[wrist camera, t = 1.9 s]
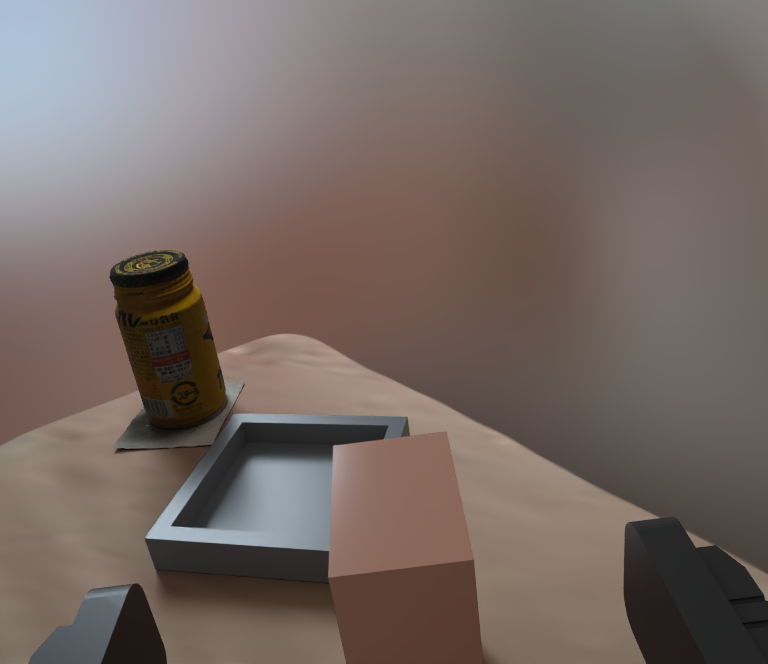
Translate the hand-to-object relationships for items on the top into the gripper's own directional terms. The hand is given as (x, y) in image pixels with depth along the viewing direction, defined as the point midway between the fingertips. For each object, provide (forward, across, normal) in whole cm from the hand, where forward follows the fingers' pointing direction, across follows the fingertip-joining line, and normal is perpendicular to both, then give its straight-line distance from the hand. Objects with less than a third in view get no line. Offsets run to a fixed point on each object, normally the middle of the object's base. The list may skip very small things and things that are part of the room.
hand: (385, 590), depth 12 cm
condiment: (+37, +16, +18) cm, 44 cm away
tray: (+26, +7, +18) cm, 32 cm away
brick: (+11, 0, +18) cm, 21 cm away
